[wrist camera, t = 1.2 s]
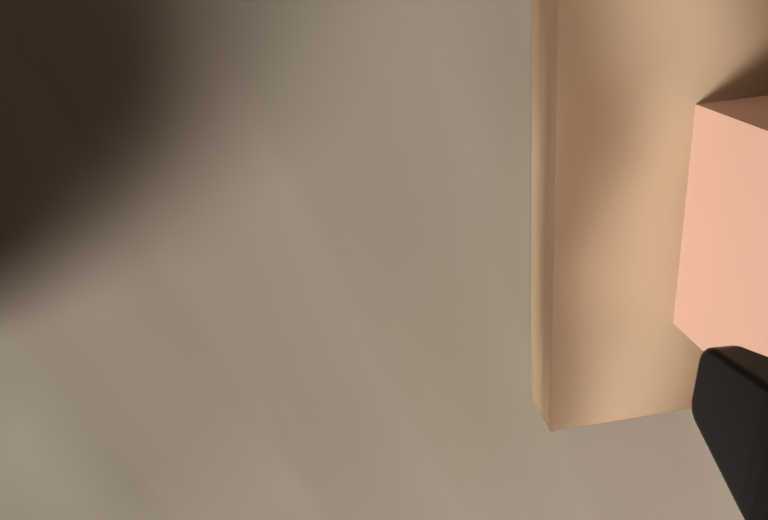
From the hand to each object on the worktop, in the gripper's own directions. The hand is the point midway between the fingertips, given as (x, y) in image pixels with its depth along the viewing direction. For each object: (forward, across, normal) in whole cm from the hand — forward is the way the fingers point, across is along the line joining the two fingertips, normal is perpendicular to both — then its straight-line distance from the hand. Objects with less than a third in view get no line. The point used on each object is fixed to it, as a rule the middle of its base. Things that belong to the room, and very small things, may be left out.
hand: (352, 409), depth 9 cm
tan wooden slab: (+13, -12, +3) cm, 18 cm away
